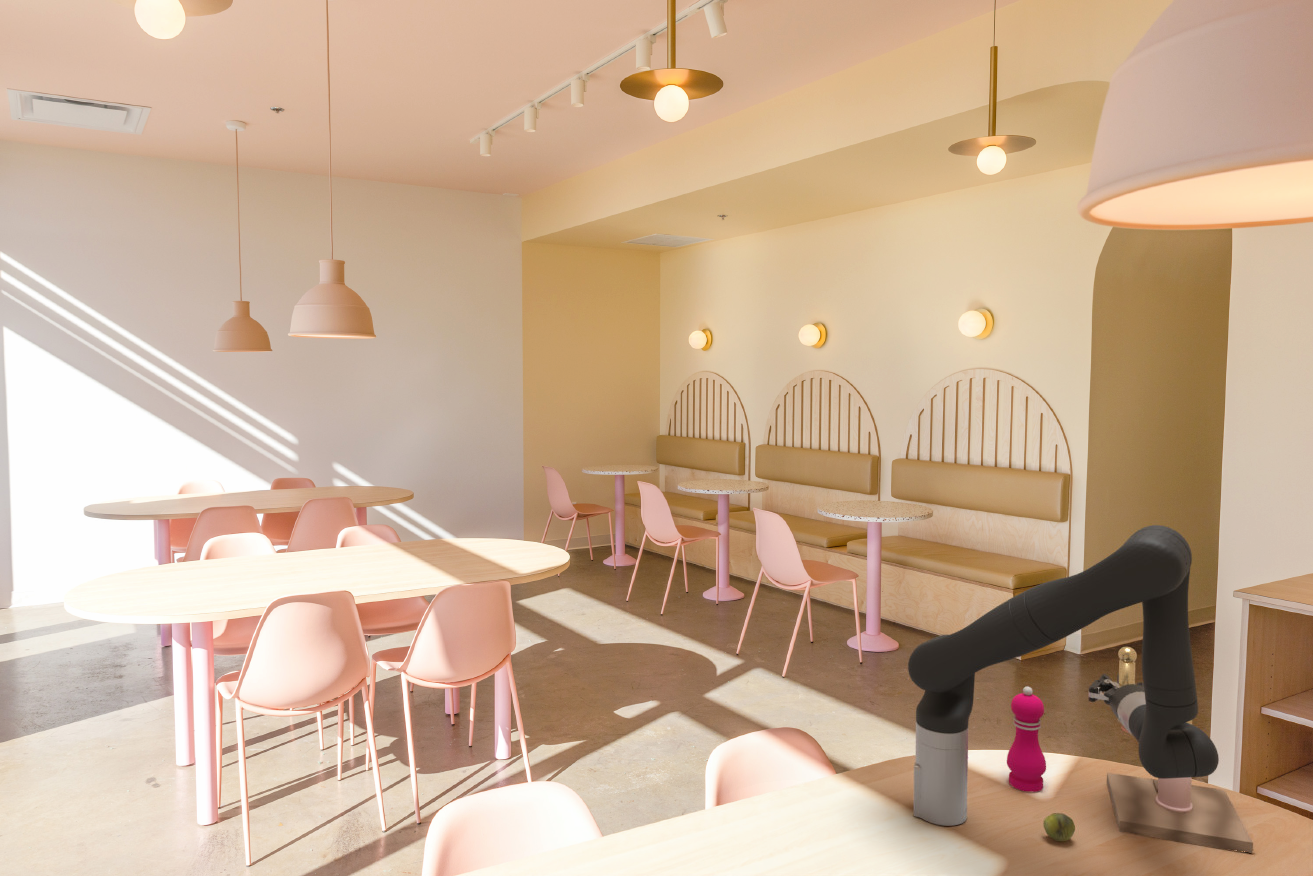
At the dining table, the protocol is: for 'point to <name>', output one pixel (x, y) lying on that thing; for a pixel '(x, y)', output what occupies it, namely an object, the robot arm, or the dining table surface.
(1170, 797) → the cover
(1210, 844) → the base
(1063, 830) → the lime
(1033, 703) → the pepper mill
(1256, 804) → the dining table surface
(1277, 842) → the dining table surface
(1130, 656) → the brass crank handle
